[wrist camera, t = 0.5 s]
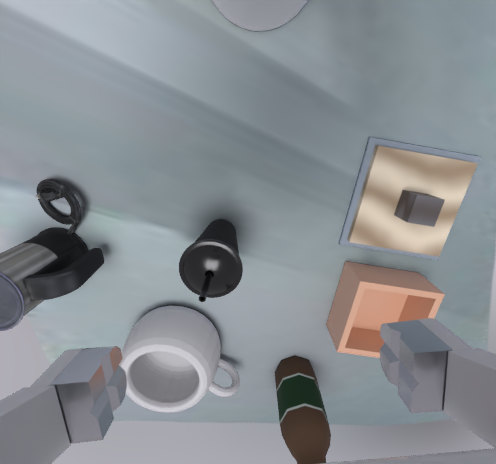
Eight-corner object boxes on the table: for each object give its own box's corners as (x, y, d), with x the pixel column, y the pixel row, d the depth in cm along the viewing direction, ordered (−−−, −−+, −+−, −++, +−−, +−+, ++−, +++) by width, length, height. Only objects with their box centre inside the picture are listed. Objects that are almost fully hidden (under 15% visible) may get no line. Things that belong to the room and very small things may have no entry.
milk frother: (55, 284, 51) (-20, 341, 37) (-3, 204, 46) (-114, 235, 32) (124, 255, 49) (73, 304, 35) (71, 168, 44) (-13, 184, 30)
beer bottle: (315, 354, 55) (360, 508, 32) (313, 385, 58) (354, 549, 35) (274, 354, 55) (291, 508, 32) (274, 386, 58) (290, 549, 35)
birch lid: (375, 145, 42) (391, 146, 37) (471, 162, 43) (500, 166, 38) (347, 239, 47) (358, 251, 42) (434, 253, 48) (455, 267, 43)
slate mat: (369, 137, 42) (370, 137, 42) (478, 156, 43) (481, 156, 43) (338, 243, 48) (339, 244, 47) (436, 258, 48) (438, 260, 48)
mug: (122, 354, 56) (96, 399, 46) (151, 286, 51) (128, 321, 41) (222, 392, 58) (217, 441, 49) (259, 330, 54) (261, 373, 44)
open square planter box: (345, 261, 49) (360, 281, 42) (418, 272, 49) (444, 294, 43) (326, 324, 53) (337, 351, 46) (394, 334, 53) (414, 362, 47)
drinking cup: (253, 240, 48) (255, 310, 29) (215, 262, 49) (192, 342, 30) (228, 201, 46) (212, 249, 27) (189, 225, 47) (147, 287, 28)
